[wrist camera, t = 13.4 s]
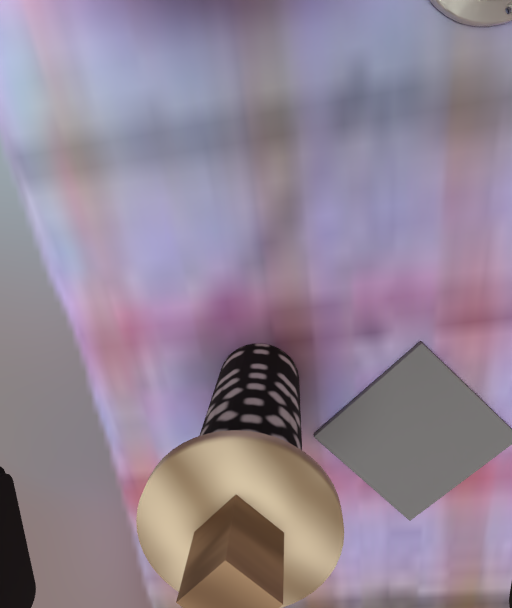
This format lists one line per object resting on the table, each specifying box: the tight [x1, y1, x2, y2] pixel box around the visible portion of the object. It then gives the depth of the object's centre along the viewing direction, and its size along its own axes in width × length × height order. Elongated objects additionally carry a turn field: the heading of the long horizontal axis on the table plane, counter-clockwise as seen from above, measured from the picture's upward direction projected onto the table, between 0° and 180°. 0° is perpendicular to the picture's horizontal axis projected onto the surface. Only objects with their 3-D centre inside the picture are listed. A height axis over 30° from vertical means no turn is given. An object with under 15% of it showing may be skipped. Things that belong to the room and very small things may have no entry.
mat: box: [314, 341, 512, 521], centre depth 50 cm, size 15×15×1 cm
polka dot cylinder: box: [200, 344, 302, 450], centre depth 40 cm, size 8×8×20 cm
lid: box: [136, 430, 344, 608], centre depth 28 cm, size 13×13×6 cm
